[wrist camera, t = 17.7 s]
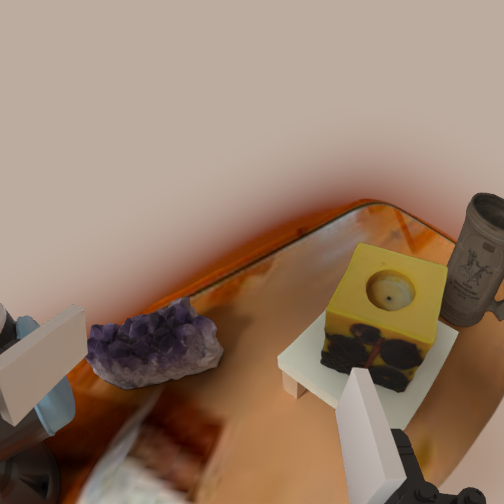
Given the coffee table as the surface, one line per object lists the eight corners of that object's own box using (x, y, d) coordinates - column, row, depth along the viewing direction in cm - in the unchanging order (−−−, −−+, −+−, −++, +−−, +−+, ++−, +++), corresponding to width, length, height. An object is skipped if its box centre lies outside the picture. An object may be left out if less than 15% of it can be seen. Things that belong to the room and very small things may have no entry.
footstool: (280, 389, 39) (277, 356, 34) (349, 315, 47) (357, 275, 41) (375, 457, 30) (397, 440, 24) (435, 367, 38) (459, 332, 32)
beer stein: (419, 304, 47) (463, 208, 33) (442, 270, 51) (479, 181, 38) (487, 352, 38) (553, 268, 24) (503, 311, 43) (555, 229, 29)
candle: (424, 324, 34) (450, 265, 27) (404, 396, 28) (438, 346, 21) (349, 300, 38) (359, 237, 32) (317, 366, 32) (324, 309, 25)
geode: (106, 414, 38) (67, 375, 32) (103, 357, 47) (72, 316, 41) (235, 371, 42) (215, 323, 36) (213, 318, 51) (194, 270, 45)
